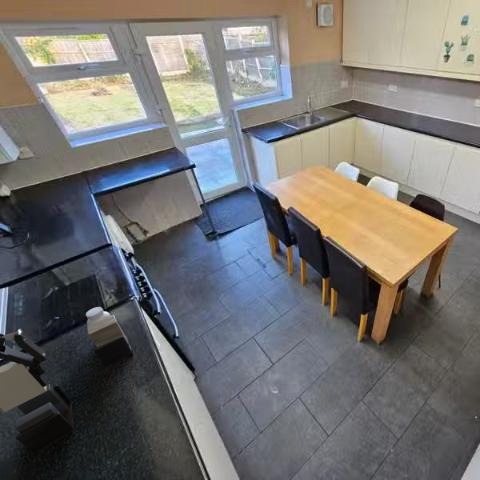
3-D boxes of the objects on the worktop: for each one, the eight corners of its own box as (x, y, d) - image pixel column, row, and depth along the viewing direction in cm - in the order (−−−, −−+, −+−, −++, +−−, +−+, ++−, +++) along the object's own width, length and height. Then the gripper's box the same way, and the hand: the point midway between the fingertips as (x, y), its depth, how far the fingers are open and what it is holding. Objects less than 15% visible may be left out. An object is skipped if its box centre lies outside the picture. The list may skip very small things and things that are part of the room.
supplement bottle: (118, 326, 105) (104, 302, 99) (121, 337, 101) (106, 312, 94) (98, 335, 102) (81, 310, 95) (99, 347, 97) (82, 321, 91)
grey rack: (36, 421, 76) (13, 399, 70) (72, 401, 80) (53, 379, 75) (36, 455, 68) (9, 433, 63) (75, 431, 73) (54, 409, 68)
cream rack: (101, 348, 96) (85, 325, 91) (126, 336, 101) (113, 312, 95) (106, 368, 89) (89, 344, 83) (133, 354, 94) (119, 330, 88)
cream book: (5, 404, 66) (-25, 377, 61) (46, 384, 70) (22, 357, 65) (4, 412, 64) (-26, 385, 59) (46, 390, 69) (21, 363, 63)
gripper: (-135, 373, 47) (-44, 438, 58) (26, 313, 59) (76, 377, 70) (-119, 347, 52) (-37, 412, 63) (27, 296, 64) (73, 358, 75)
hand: (22, 393), depth 67 cm, fingers closed on cream book, 8 cm apart
